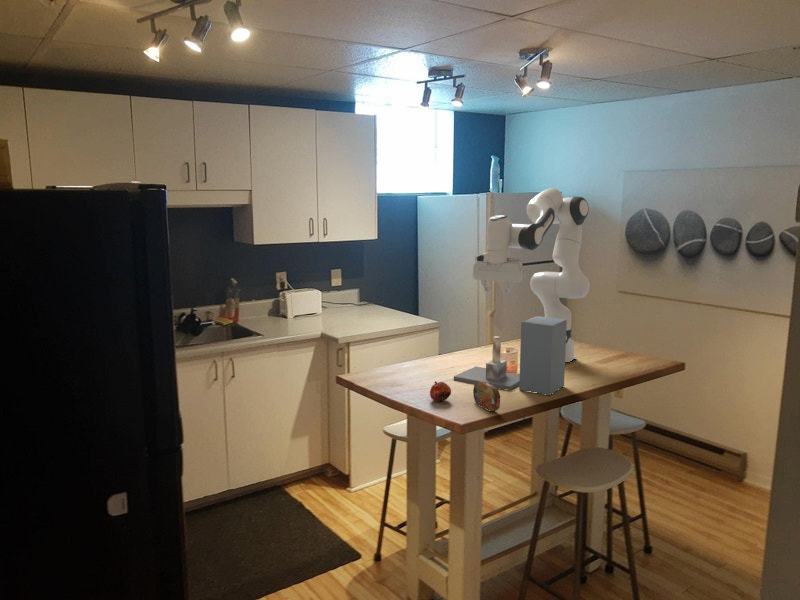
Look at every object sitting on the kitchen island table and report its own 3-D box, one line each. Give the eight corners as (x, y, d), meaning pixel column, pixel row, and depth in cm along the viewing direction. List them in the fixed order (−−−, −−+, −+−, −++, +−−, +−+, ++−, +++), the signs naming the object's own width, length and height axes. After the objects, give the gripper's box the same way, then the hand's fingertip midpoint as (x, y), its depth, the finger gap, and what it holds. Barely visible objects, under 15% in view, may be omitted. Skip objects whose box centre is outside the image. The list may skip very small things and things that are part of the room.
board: (453, 379, 246) (453, 376, 246) (475, 369, 261) (475, 366, 260) (509, 390, 233) (509, 386, 232) (529, 379, 247) (529, 375, 247)
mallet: (486, 338, 241) (498, 339, 238) (495, 334, 247) (507, 335, 244) (485, 378, 243) (497, 380, 240) (494, 373, 250) (506, 375, 247)
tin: (472, 401, 220) (472, 378, 219) (480, 400, 221) (480, 377, 220) (493, 415, 206) (493, 390, 205) (501, 414, 207) (502, 389, 206)
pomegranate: (453, 408, 219) (446, 385, 226) (455, 396, 214) (448, 373, 221) (433, 412, 218) (426, 388, 225) (434, 400, 213) (427, 376, 220)
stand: (519, 390, 232) (521, 321, 228) (534, 381, 244) (536, 316, 240) (549, 396, 226) (552, 325, 222) (564, 386, 237) (566, 319, 233)
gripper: (525, 258, 240) (524, 293, 242) (478, 255, 252) (478, 289, 254) (519, 259, 235) (518, 295, 237) (471, 256, 247) (470, 291, 249)
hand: (497, 292), depth 246 cm, fingers open, 8 cm apart
